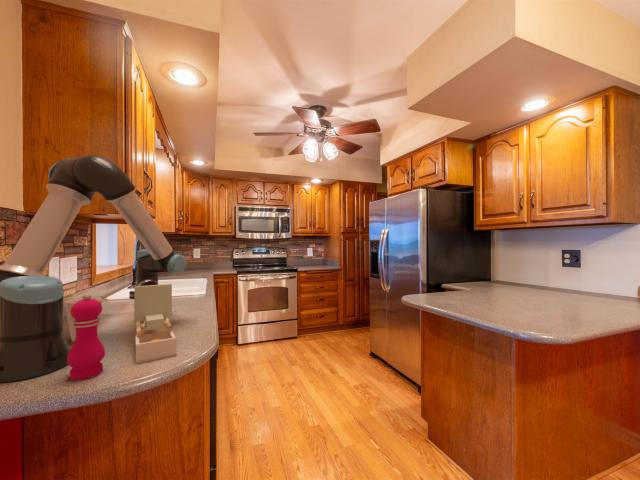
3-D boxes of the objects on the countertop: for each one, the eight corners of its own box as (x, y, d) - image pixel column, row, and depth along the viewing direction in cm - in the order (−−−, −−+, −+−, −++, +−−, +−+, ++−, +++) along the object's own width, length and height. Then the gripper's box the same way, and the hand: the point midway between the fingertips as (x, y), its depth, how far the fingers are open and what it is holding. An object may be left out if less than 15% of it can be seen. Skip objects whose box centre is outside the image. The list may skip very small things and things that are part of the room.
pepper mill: (109, 372, 71) (110, 292, 71) (72, 384, 65) (72, 297, 65) (98, 365, 75) (98, 289, 75) (62, 376, 69) (63, 293, 69)
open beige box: (135, 363, 75) (136, 345, 76) (135, 352, 83) (135, 335, 83) (175, 355, 81) (175, 338, 81) (171, 345, 89) (171, 329, 89)
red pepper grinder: (85, 343, 91) (85, 303, 91) (57, 343, 91) (57, 303, 91) (108, 334, 100) (108, 297, 100) (82, 333, 100) (82, 297, 100)
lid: (134, 332, 79) (134, 290, 79) (134, 324, 86) (134, 286, 86) (174, 326, 85) (174, 287, 85) (171, 319, 92) (171, 283, 92)
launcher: (136, 355, 81) (136, 327, 81) (135, 338, 95) (135, 314, 95) (171, 348, 86) (171, 322, 86) (165, 333, 100) (165, 311, 100)
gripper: (168, 298, 112) (176, 309, 93) (128, 302, 105) (128, 315, 86) (168, 279, 112) (176, 287, 93) (128, 282, 105) (128, 291, 86)
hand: (153, 300), depth 89 cm, fingers closed
